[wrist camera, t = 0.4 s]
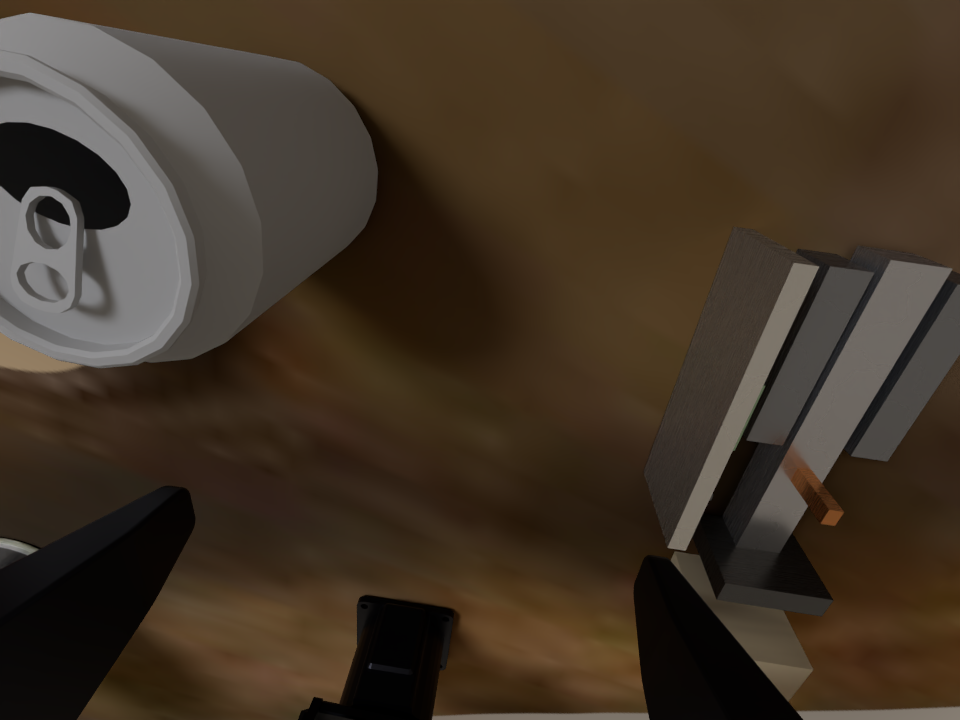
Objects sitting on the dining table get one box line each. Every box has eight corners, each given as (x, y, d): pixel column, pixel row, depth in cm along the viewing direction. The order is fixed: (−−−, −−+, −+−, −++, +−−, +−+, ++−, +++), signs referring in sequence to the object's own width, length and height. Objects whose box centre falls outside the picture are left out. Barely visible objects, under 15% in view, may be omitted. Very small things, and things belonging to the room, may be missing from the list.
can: (404, 100, 18) (238, 97, 8) (363, 277, 22) (210, 439, 11) (211, 26, 18) (-249, -87, 7) (200, 220, 21) (-120, 334, 11)
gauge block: (728, 616, 31) (770, 723, 25) (650, 604, 31) (675, 708, 25) (759, 563, 28) (813, 670, 23) (674, 550, 28) (708, 653, 23)
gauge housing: (813, 497, 25) (872, 579, 21) (643, 471, 26) (667, 547, 21) (958, 258, 19) (1085, 304, 15) (733, 226, 19) (793, 262, 15)
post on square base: (779, 542, 27) (823, 620, 23) (689, 528, 27) (718, 603, 23) (949, 258, 19) (1063, 300, 15) (822, 240, 19) (901, 277, 15)
